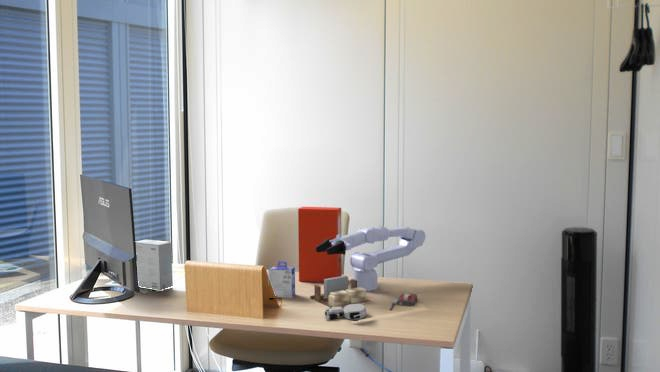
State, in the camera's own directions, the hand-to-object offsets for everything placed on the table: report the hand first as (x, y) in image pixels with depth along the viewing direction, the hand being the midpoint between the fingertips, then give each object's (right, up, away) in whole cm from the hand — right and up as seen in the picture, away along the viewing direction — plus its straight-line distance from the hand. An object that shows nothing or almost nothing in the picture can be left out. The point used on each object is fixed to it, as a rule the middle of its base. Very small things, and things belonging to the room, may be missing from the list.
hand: (321, 250), depth 280 cm
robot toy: (+9, -23, -23) cm, 33 cm away
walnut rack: (+7, -20, -2) cm, 21 cm away
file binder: (-1, -16, +33) cm, 37 cm away
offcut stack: (+10, -19, -6) cm, 23 cm away
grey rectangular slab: (+6, -19, +1) cm, 19 cm away
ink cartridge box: (-16, -19, +5) cm, 26 cm away
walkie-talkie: (+31, -21, -8) cm, 38 cm away
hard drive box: (-71, -18, +22) cm, 77 cm away
